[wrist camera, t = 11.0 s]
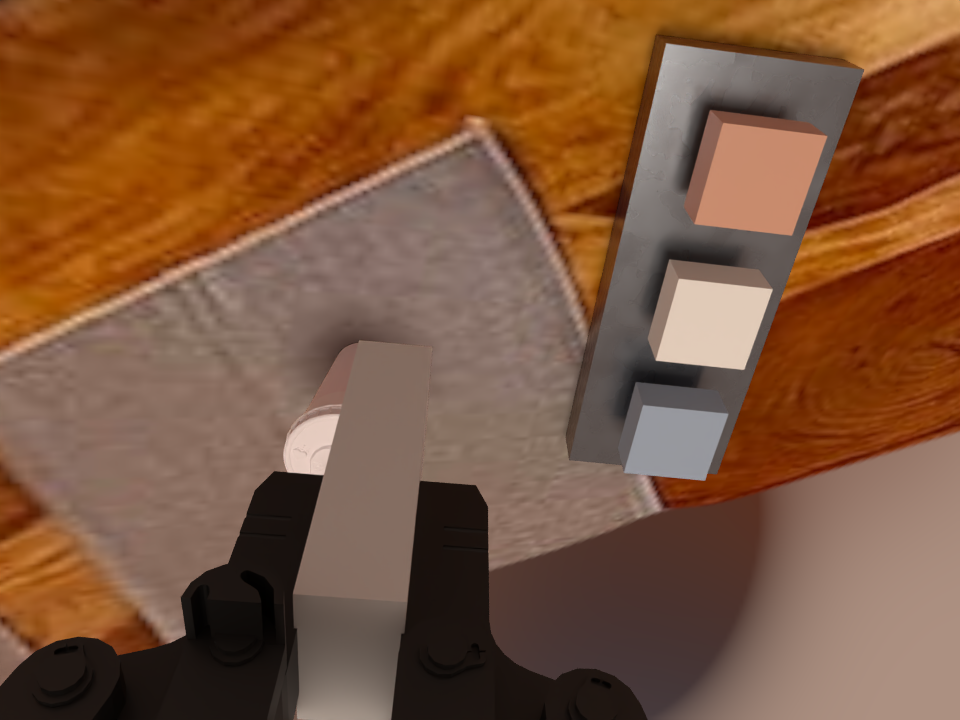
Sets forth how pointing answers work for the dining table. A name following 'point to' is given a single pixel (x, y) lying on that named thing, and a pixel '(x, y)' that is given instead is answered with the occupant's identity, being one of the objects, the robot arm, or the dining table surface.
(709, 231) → the console
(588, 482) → the dining table surface
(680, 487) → the dining table surface
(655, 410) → the blue key
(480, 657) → the robot arm
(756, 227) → the terracotta key
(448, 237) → the dining table surface
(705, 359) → the white key
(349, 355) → the smoothie
